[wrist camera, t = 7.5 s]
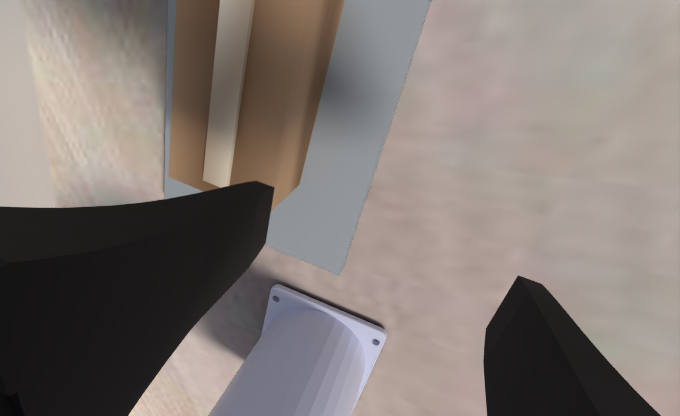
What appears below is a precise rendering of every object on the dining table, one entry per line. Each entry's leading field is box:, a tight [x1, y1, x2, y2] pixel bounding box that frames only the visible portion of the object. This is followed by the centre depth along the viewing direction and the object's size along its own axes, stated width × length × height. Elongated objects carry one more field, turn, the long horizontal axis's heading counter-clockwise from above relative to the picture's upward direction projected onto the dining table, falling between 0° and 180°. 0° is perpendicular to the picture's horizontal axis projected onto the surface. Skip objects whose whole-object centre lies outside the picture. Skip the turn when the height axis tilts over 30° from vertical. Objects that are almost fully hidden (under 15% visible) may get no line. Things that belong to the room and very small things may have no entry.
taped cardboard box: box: [168, 0, 345, 211], centre depth 16 cm, size 5×9×4 cm, turn 164°
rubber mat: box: [164, 0, 431, 275], centre depth 19 cm, size 18×12×1 cm, turn 165°
